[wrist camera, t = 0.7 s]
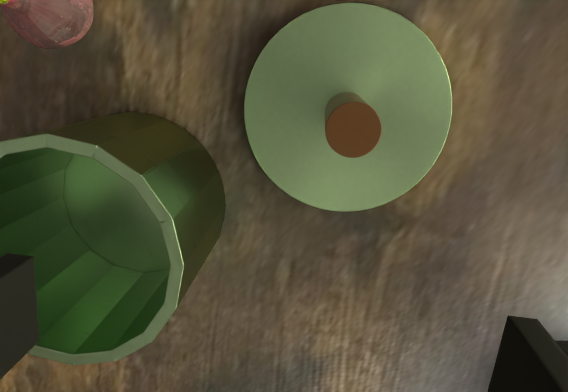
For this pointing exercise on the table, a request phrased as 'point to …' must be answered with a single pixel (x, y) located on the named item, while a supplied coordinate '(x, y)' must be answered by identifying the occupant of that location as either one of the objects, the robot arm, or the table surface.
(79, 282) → the canister
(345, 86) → the canister lid
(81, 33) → the vegetable
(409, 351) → the table surface
